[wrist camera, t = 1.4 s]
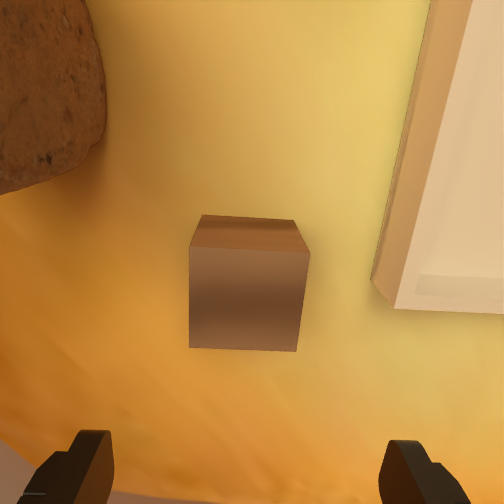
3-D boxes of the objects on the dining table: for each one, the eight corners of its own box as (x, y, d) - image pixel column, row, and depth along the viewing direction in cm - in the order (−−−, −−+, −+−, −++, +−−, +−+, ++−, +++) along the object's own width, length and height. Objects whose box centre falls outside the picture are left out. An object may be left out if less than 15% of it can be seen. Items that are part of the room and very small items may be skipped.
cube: (202, 214, 22) (189, 246, 17) (293, 219, 22) (310, 253, 17) (201, 295, 24) (189, 347, 19) (283, 299, 25) (296, 351, 19)
